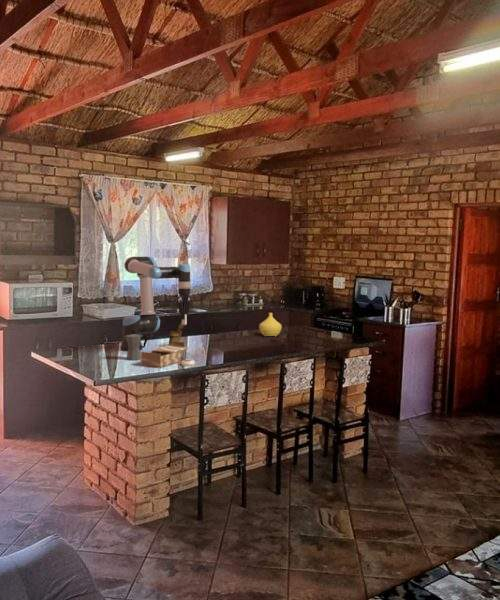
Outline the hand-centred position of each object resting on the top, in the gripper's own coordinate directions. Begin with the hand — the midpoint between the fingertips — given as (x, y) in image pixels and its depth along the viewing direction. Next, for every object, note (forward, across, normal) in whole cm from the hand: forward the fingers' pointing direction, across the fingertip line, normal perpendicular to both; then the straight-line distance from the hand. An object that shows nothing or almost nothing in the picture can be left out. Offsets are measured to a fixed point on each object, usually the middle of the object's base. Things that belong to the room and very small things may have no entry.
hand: (184, 324), depth 362 cm
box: (+22, +25, 0) cm, 33 cm away
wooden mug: (+22, -29, -26) cm, 45 cm away
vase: (+22, -112, +9) cm, 115 cm away
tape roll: (+22, +19, +16) cm, 33 cm away
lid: (+14, +14, 0) cm, 20 cm away
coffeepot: (+22, +22, -22) cm, 38 cm away
